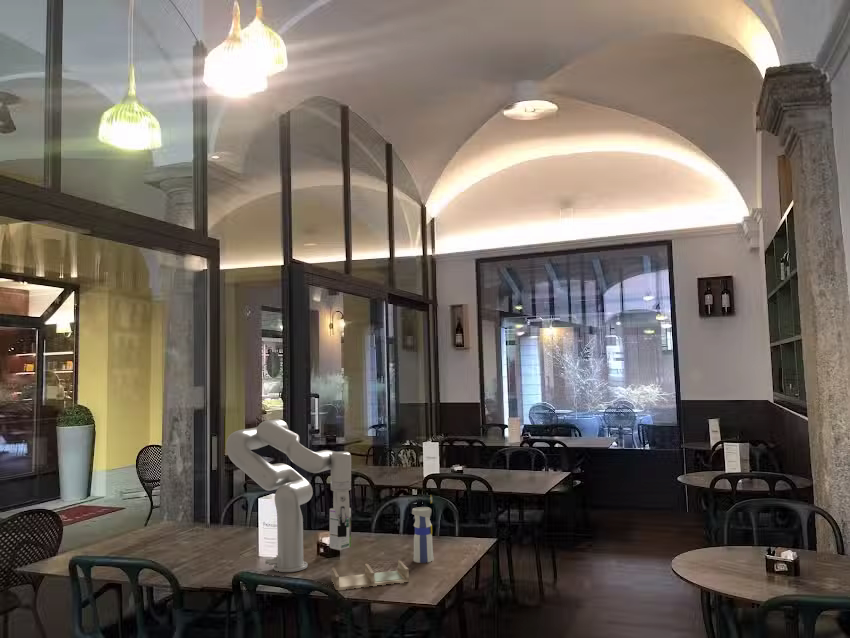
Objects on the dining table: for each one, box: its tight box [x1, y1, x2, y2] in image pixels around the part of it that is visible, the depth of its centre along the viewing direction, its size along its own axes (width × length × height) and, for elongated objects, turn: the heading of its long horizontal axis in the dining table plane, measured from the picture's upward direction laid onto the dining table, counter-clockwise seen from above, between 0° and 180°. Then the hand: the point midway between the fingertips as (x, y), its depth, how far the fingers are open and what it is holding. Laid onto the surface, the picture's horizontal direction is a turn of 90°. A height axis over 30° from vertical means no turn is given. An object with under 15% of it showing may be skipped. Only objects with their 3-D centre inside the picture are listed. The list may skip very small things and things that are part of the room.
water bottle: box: [411, 495, 434, 564], centre depth 261 cm, size 8×8×25 cm
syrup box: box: [329, 507, 352, 551], centre depth 249 cm, size 6×6×14 cm
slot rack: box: [330, 559, 410, 591], centre depth 234 cm, size 25×12×4 cm, turn 106°
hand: (340, 533), depth 249 cm, fingers closed on syrup box, 7 cm apart
